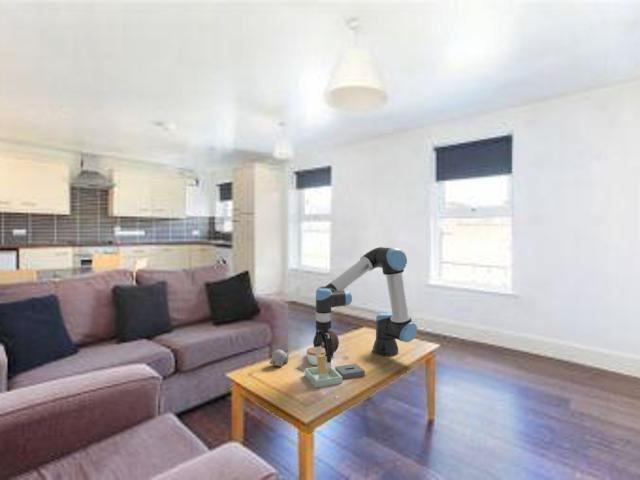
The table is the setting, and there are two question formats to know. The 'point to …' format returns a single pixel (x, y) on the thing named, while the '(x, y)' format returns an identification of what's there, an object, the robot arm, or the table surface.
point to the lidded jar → (313, 354)
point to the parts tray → (314, 379)
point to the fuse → (322, 367)
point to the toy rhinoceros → (279, 358)
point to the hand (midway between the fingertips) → (323, 363)
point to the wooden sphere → (333, 339)
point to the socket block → (350, 371)
